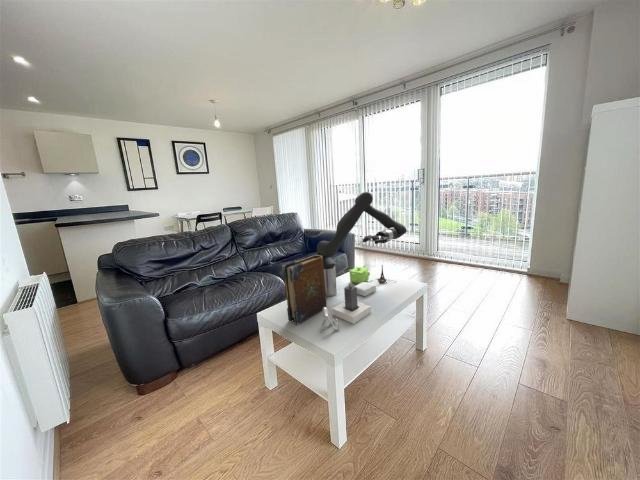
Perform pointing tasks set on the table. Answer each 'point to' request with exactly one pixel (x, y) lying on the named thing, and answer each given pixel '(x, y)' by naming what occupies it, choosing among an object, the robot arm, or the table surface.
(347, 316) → the socket
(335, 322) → the portable electronic device stand
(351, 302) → the plug
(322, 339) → the table surface
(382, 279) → the eiffel tower figurine
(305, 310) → the decorative book
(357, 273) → the teapot
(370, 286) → the photo printer
